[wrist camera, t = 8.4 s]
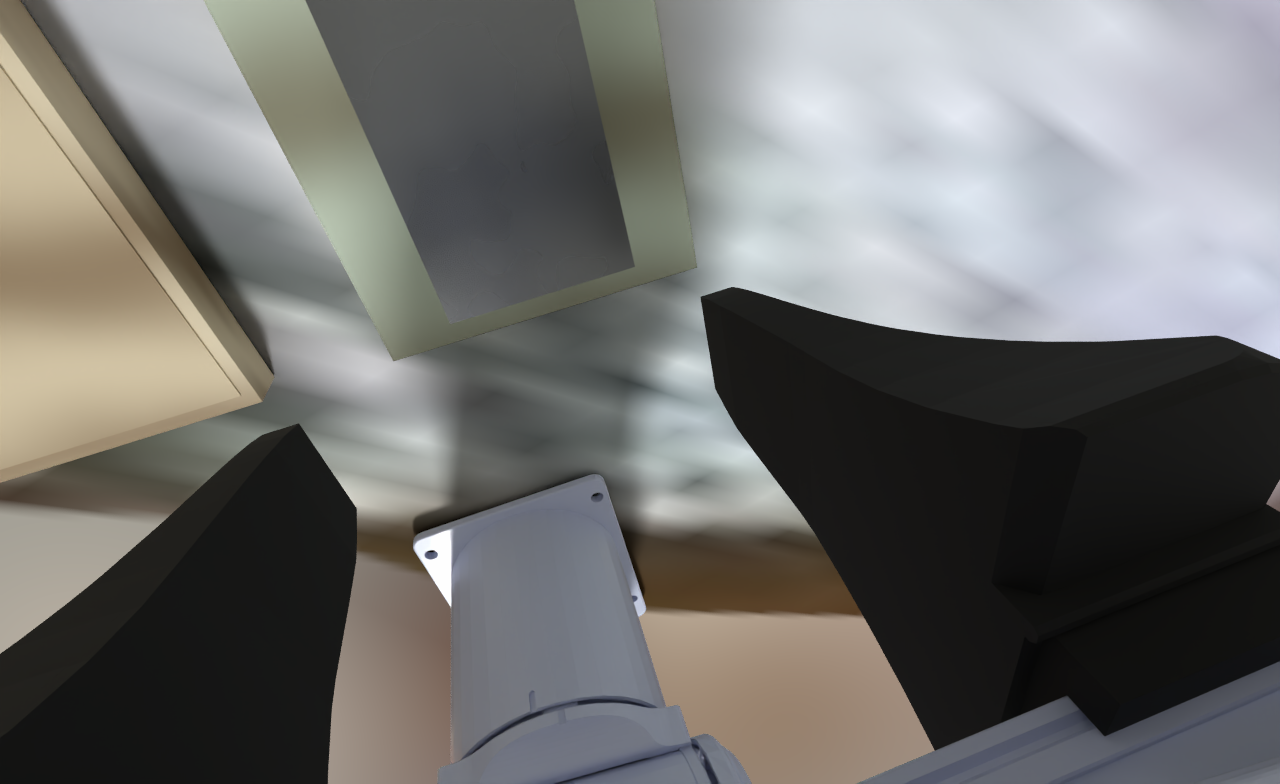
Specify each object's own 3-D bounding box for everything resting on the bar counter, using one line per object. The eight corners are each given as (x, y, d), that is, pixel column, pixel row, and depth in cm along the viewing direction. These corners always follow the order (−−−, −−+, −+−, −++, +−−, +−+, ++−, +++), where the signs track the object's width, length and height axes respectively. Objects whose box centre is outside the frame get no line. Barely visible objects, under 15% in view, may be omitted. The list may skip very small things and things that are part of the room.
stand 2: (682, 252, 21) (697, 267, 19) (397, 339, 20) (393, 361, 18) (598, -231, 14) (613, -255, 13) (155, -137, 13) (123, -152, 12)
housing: (596, 213, 18) (635, 266, 14) (450, 257, 17) (450, 323, 13) (520, -83, 14) (546, -121, 10) (328, -37, 13) (279, -57, 9)
